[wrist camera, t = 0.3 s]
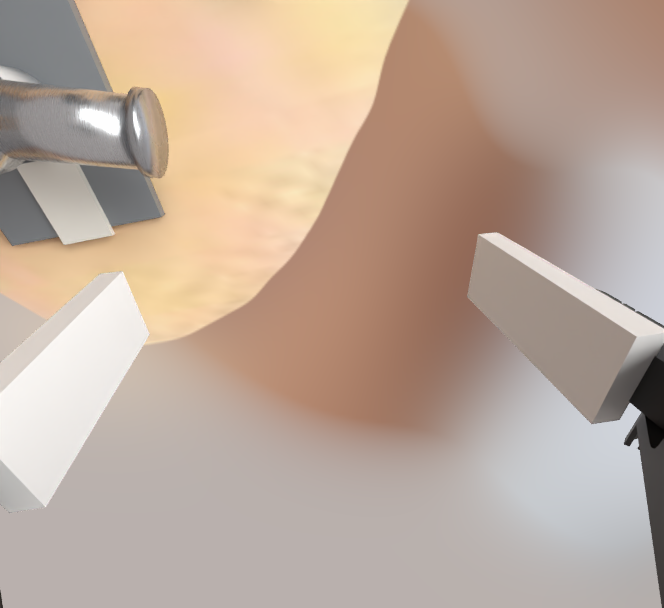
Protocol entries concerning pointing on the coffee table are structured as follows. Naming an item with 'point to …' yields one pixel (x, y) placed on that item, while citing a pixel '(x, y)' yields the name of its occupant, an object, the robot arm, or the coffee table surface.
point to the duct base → (59, 178)
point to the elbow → (82, 127)
